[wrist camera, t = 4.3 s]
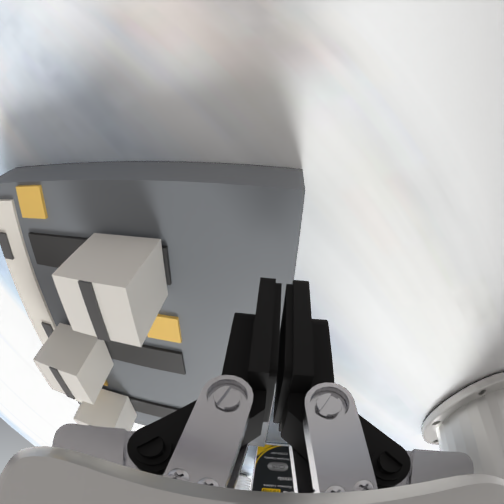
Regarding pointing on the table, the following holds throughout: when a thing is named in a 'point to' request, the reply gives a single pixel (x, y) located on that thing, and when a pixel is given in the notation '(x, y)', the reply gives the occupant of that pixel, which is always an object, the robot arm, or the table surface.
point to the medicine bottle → (272, 469)
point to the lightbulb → (243, 482)
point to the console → (174, 256)
